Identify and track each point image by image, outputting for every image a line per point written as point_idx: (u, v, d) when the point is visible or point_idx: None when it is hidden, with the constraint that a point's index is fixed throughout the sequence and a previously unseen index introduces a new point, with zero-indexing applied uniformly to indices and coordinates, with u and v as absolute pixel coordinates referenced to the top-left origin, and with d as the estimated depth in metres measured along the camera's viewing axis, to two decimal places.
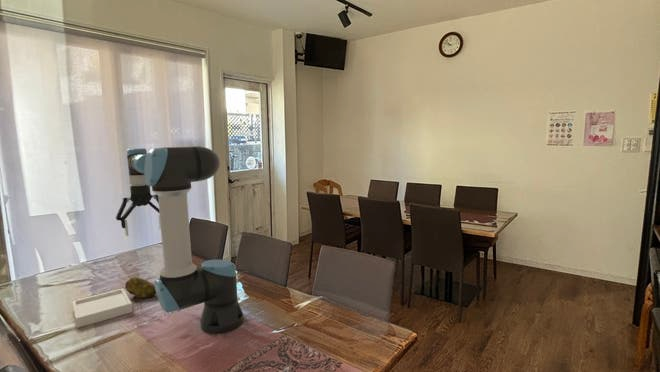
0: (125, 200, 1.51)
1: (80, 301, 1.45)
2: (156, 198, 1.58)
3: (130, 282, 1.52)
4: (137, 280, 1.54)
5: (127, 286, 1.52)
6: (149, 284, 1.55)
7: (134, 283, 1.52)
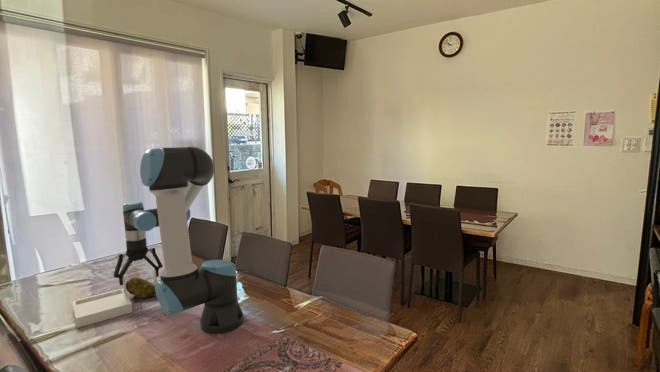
0: (121, 257, 1.47)
1: (80, 301, 1.45)
2: (152, 252, 1.55)
3: (130, 282, 1.52)
4: (137, 280, 1.54)
5: (127, 286, 1.52)
6: (149, 284, 1.55)
7: (134, 283, 1.52)
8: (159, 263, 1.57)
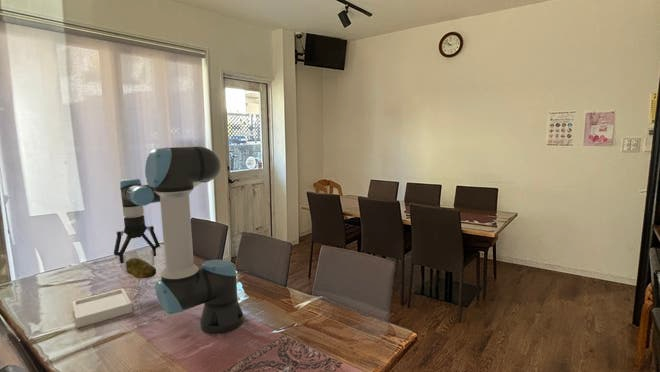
0: (119, 234, 1.46)
1: (80, 301, 1.45)
2: (150, 230, 1.54)
3: (129, 262, 1.51)
4: (136, 260, 1.52)
5: (126, 265, 1.51)
6: (148, 265, 1.53)
7: (133, 263, 1.51)
8: (156, 242, 1.55)
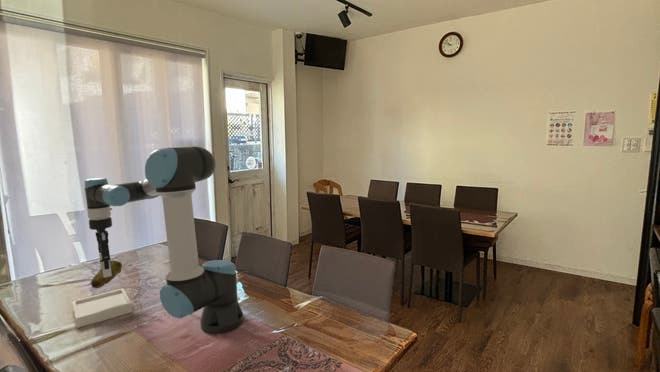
0: None
1: (80, 301, 1.45)
2: (99, 239, 1.36)
3: None
4: None
5: None
6: (99, 274, 1.39)
7: None
8: (102, 255, 1.35)
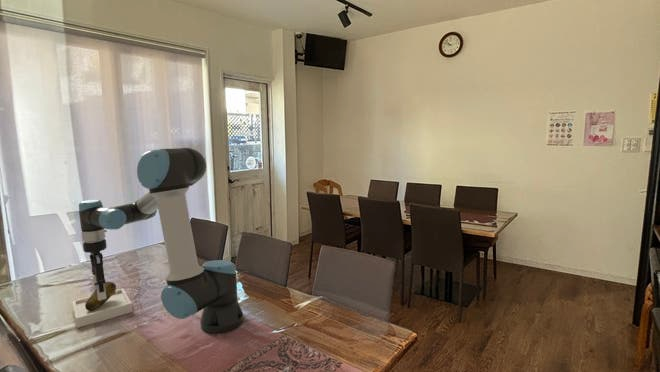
0: None
1: (80, 301, 1.45)
2: (94, 262, 1.35)
3: None
4: None
5: None
6: (93, 296, 1.38)
7: None
8: (96, 278, 1.34)
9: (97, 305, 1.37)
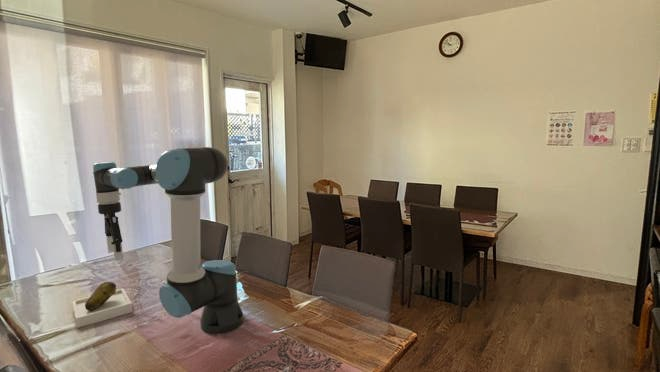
0: (104, 216, 1.43)
1: (80, 301, 1.45)
2: (110, 222, 1.34)
3: None
4: (100, 286, 1.42)
5: None
6: (93, 296, 1.38)
7: (98, 287, 1.43)
8: (113, 237, 1.32)
9: (97, 305, 1.37)
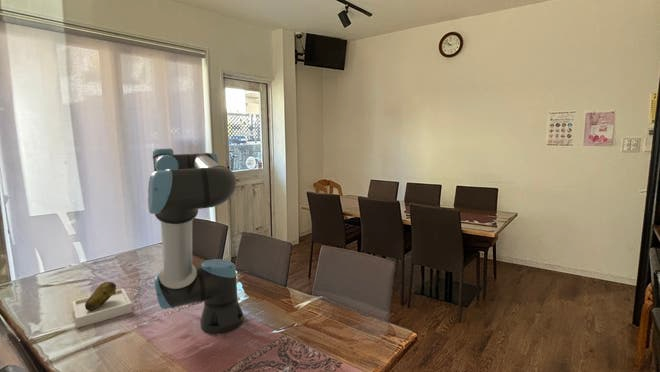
0: None
1: (80, 301, 1.45)
2: None
3: None
4: (100, 286, 1.42)
5: None
6: (93, 296, 1.38)
7: (98, 287, 1.43)
8: None
9: (97, 305, 1.37)
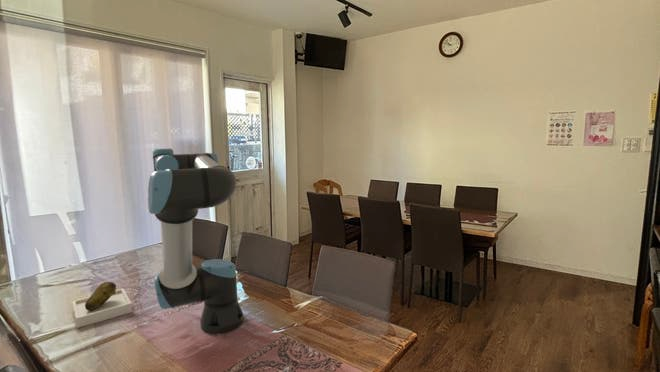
0: None
1: (80, 301, 1.45)
2: None
3: None
4: (100, 286, 1.42)
5: None
6: (93, 296, 1.38)
7: (98, 287, 1.43)
8: None
9: (97, 305, 1.37)
